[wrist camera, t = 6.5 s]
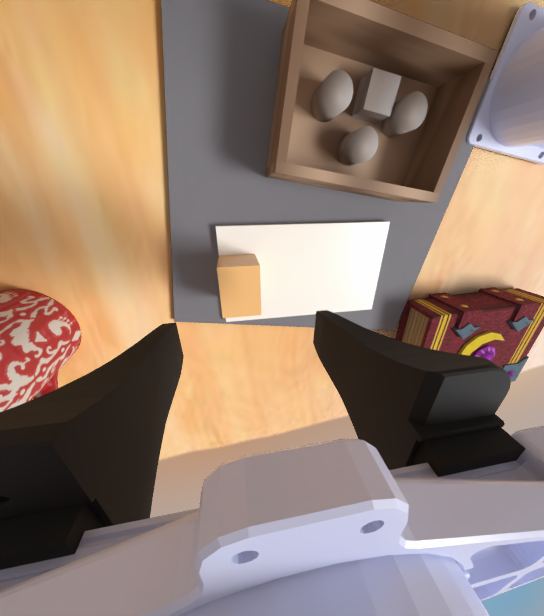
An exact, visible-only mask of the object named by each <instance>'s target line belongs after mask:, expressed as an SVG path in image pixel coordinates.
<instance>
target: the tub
mask: <svg viewBox="0 0 544 616" xmlns="http://www.w3.org/2000/svg"><path fill="white" fill-rule="evenodd" d="M498 52H499V51H497V50H495V49H492V48H489V47H487V46H484V45H482V44H479V43H477V42H474V41H472V40H469V39H466V38H464V37H461V36H459V35H456V34H454V33H451V32H449V31H446V30H443V29H441V28H438V27H436V26H433V25H431V24H428V23H426V22H423V21H420V20H418V19H415V18H413V17H410V16H408V15H405V14H403V13H400V12H397V11H395V10H392V9H390V8H387V7H385V6H382V5H380V4H377V3H374V2H372V1H369V0H292V3H291V6H290V9H289V12H288V16H287V19H286V22H285V25H284V28H283V33H282V42H281V50H280V59H279V68H278V76H277V85H276V94H275V102H274V111H273V119H272V128H271V137H270V145H269V154H268V163H267V171H266V177H267V178H273V179H278V180H283V181H289V182H294V183H300V184H305V185H311V186H316V187H322V188H327V189H333V190H338V191H343V192H349V193H354V194H360V195H365V196H371V197H376V198H382V199H387V200H392V201H398V202H421V203H437V201H438V199H439V196H440V194H441V192H442V189H443V187H444V184H445V182H446V179H447V177H448V174H449V172H450V170H451V167H452V165H453V162H454V160H455V157H456V155H457V152H458V150H459V148H460V145H461V143H462V140H463V138H464V135H465V133H466V130H467V128H468V126H469V123H470V121H471V118H472V116H473V113H474V111H475V108H476V106H477V103H478V101H479V99H480V96H481V94H482V91H483V89H484V86H485V84H486V81H487V79H488V77H489V74H490V72H491V69H492V67H493V64H494V62H495V59H496V57H497V55H498Z"/></svg>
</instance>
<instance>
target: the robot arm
mask: <svg viewBox="0 0 544 616" xmlns="http://www.w3.org/2000/svg"><path fill="white" fill-rule="evenodd" d="M529 16H530V17H529ZM489 79H491V80H490V82H489V85H488V87H487V90H486V92H485V94H484V97H483V99H482V102H481V104H480V106H479V109H478V111H477V114H476V116H475V119H474V121H473V123H472V126H471V128H470V131H469V133H468V136H467V143H468V144H469V145H473V146H474V147H478V148H481V149H485V150H489V151H493V152H496V153H500V154H504V155H508V156H512V157H515V158H519V159H523V160H527V161H530V162H534V163H538V164H544V8H542V7H540V6H538V5H536V4H534V3H532V2H528V3H526V4H524V5H523V6H521V7H520V8H519V9H518V11H517V13H516V15H515V17H514V20H513V22H512V25H511V27H510V30H509V32H508V34H507V37H506V39H505V42H504V44H503V47H502V49H501V51H500V54H499V56H498V59H497V61H496V64H495V66H494V69H493V71H492V73H491V76H490V78H489ZM477 136H478V139H477V140H476V138H477ZM313 343H314V346H315V349H316V351H317V354H318V356H319V359H320V360H321V362H322V364H323V366H324V368H325V369H326V371H327V373H328V375H329V376H330V378H331V380H332V382H333V383H334V385H335V387H336V389H337V390H338V392H339V394H340V396H341V398H342V400H343V403H344V405H345V407H346V409H347V412H348V414H349V416H350V419H351V421H352V423H353V426H354V429H355V431H356V434H357V436H358V439H339V440H333V441H327V442H322V443H316V444H310V445H304V446H299V447H293V448H287V449H281V450H275V451H269V452H264V453H259V454H252V455H246V456H242V457H239V458H237V459H233V460H231V461H228V462H225V463H223V464H222V465H220V466H219V467H218V468H217V469H215V470H214V471H213V472H212V473H211V474H209V475H208V476H207V477H206V478H205V479H204V483H203V487H202V492H201V499H200V508H198V509H193V510H188V511H183V512H178V513H173V514H168V515H163V516H158V517H154V518H150V512H151V505H152V497H153V491H154V484H155V478H156V472H157V466H158V460H159V455H160V449H161V444H162V439H163V434H164V429H165V424H166V420H167V417H168V413H169V410H170V407H171V404H172V400H173V397H174V394H175V391H176V388H177V385H178V381H179V378H180V375H181V369H182V363H183V352H182V348H181V343H180V339H179V334H178V330H177V325H176V323H169V324H162V325H160V326H159V327H157V328H156V329H155V330H153V331H152V332H151V333H149V334H148V335H147V336H145V337H144V338H143V339H141V340H140V341H139V342H137V343H136V344H135V345H133V346H132V347H130V348H129V349H127V350H126V351H125V352H123V353H122V354H120V355H119V356H117V357H116V358H114V359H113V360H111V361H109V362H108V363H106V364H105V365H103V366H101V367H99V368H98V369H96V370H94V371H92V372H90V373H89V374H87V375H85V376H83V377H81V378H79V379H77V380H75V381H73V382H71V383H69V384H67V385H65V386H63V387H61V388H58V389H56V390H54V391H52V392H49V393H47V394H45V395H43V396H40V397H38V398H35V399H33V400H31V401H28V402H26V403H23V404H21V405H18V406H16V407H13V408H10V409H8V410H5V411H2V412H0V616H489V614H488V612H487V611H486V609H485V608H484V606H483V604H482V603H481V601H482V600H485V599H488V598H490V597H493V596H495V595H498V594H501V593H503V592H506V591H508V590H511V589H514V588H516V587H519V586H522V585H524V584H527V583H529V582H532V581H535V580H537V579H540V578H543V577H544V426H540V427H535V428H530V429H525V430H520V431H517V432H515V433H513V434H512V435H511V436H510V435H509V434H508V433H507V432H506V431H504V430H503V429H502V428H501V427H503V425H504V422H503V420H501V419H500V418H499V417H498V416H497V415H495V412H496V411H497V409H498V407H499V406H500V404H501V403H502V401H503V400H504V398H505V396H506V395H507V393H508V391H509V388H510V383H511V380H510V376H509V373H508V372H506V371H505V370H504V369H503V368H501V367H500V366H498V365H496V364H495V363H493V362H492V361H490V360H488V359H486V358H483V357H476V356H469V355H462V354H455V353H449V352H444V351H438V350H433V349H429V348H424V347H420V346H416V345H413V344H409V343H405V342H402V341H398V340H395V339H392V338H390V337H387V336H384V335H381V334H379V333H376V332H374V331H371V330H369V329H367V328H364V327H362V326H360V325H358V324H356V323H354V322H352V321H350V320H348V319H346V318H344V317H342V316H339V315H337V314H335V313H333V312H331V311H328V310H323V311H316V319H315V330H314V341H313Z"/></svg>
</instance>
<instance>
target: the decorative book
mask: <svg viewBox="0 0 544 616" xmlns="http://www.w3.org/2000/svg"><path fill="white" fill-rule="evenodd" d="M543 327H544V297H543V296H540V295H537V294H534V293H531V292H527V291H524V290H521V289H518V288H516V289H506V290H500V289H497V288H487V289H480V290H479V293H470V294H461V295H452V296H451V295H449V294H447V293H441V294H432V295H429V298H424V299H415V300H407V303H406V305H405V307H404V311H403V314H402V318H401V322H400V326H399V330H398V334H397V338H396V340H398V341H402V342H405V343H409V344H413V345H416V346H420V347H424V348H429V349H433V350H438V351H444V352H449V353H455V354H462V355H469V356H476V357H483V358H486V359H488V360H490V361H492V362H493V363H495V364H496V365H498V366H500V367H501V368H503V369H504V370H505V371H506V372H508V373H509V376H510V380H511V382H512V381H515V380H516V378H517V377H518V375H519V373H520V371H521V370H522V368H523V366H524V364H525V363H526V361H527V359H528V356H527V354H528V353H529V351H530V349H531V347H532V346H533V344H534V342H535V341H536V339H537V337H538V335H539V334H540V332H541V330H542V329H543Z"/></svg>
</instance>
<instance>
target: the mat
mask: <svg viewBox="0 0 544 616" xmlns="http://www.w3.org/2000/svg"><path fill="white" fill-rule="evenodd" d="M289 9H290V8H288V7H285V6H282V5H280V4H277V3H274V2H271V1H268V0H161V10H162V34H163V58H164V83H165V107H166V131H167V155H168V179H169V204H170V228H171V252H172V276H173V301H174V322H198V323H222V324H246V325H270V326H294V327H315V319H316V314H312V315H301V316H289V317H278V318H267V319H255V320H244V321H232V322H226V318H223V316H222V308H221V299H220V291H219V282H218V274H217V263H218V258H219V253H218V244H217V235H216V226H219V225H257V224H296V223H334V222H372V221H388V222H390V224H389V229H388V234H387V239H386V243H385V248H384V253H383V258H382V262H381V267H380V272H379V277H378V281H377V286H376V291H375V296H374V300H373V305H372V309H369V310H358V311H346V312H335V314H337V315H339V316H342V317H344V318H346V319H348V320H350V321H352V322H354V323H356V324H358V325H360V326H362V327H364V328H367V329H369V330H389V331H395V328H396V326H397V324H398V321H399V319H400V317H401V314H402V312H403V310H404V307H405V305H406V303H407V300H408V298H409V296H410V293H411V291H412V289H413V286H414V284H415V282H416V279H417V277H418V275H419V272H420V270H421V268H422V265H423V263H424V261H425V258H426V256H427V254H428V251H429V249H430V247H431V244H432V242H433V240H434V237H435V235H436V233H437V230H438V228H439V226H440V223H441V221H442V219H443V216H444V214H445V212H446V209H447V207H448V205H449V202H450V200H451V198H452V195H453V193H454V191H455V189H456V186H457V184H458V182H459V179H460V177H461V175H462V172H463V170H464V168H465V165H466V163H467V161H468V158H469V156H470V154H471V151H472V149H473V147H474V146H473V145H469V144H468V143H467V136H468V133H469V131H470V128H471V126H472V123H473V121H474V119H475V116H476V114H477V111H478V109H479V106H480V104H481V102H482V99H483V97H484V94H485V92H486V90H487V87H488V85H489V82H490V80H491V79H489V78H488V79H487V81H486V84H485V86H484V89H483V91H482V94H481V96H480V99H479V101H478V103H477V106H476V108H475V111H474V113H473V116H472V118H471V121H470V123H469V126H468V128H467V130H466V133H465V135H464V138H463V140H462V143H461V145H460V148H459V150H458V152H457V155H456V157H455V160H454V162H453V165H452V167H451V170H450V172H449V174H448V177H447V179H446V182H445V184H444V187H443V189H442V192H441V194H440V196H439V199H438V201H437V203H421V202H398V201H392V200H387V199H382V198H376V197H371V196H365V195H360V194H354V193H349V192H343V191H338V190H333V189H327V188H322V187H316V186H311V185H305V184H300V183H294V182H289V181H283V180H278V179H273V178H267V177H266V171H267V163H268V154H269V145H270V137H271V128H272V119H273V111H274V102H275V94H276V85H277V76H278V68H279V59H280V50H281V42H282V33H283V28H284V25H285V22H286V19H287V16H288V12H289ZM477 137H478V136H477ZM476 140H477V138H476Z"/></svg>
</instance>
